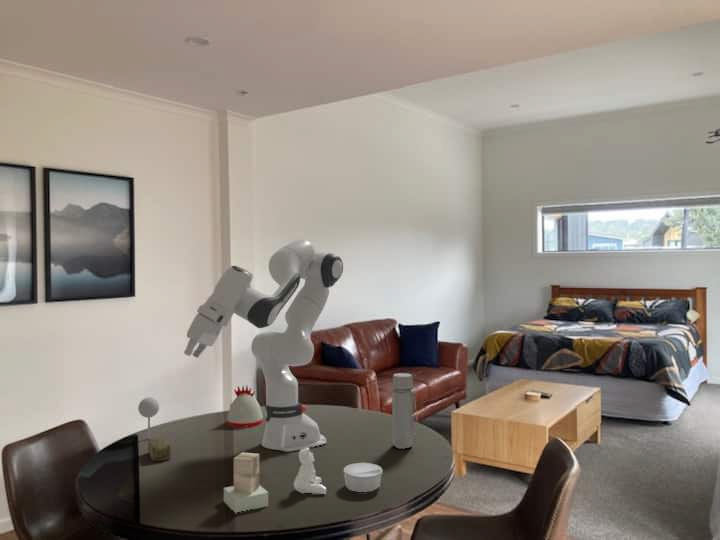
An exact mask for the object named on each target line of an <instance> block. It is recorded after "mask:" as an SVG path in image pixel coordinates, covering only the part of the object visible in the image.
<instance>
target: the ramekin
mask: <svg viewBox="0 0 720 540" xmlns="http://www.w3.org/2000/svg"><path fill="white" fill-rule="evenodd" d="M382 475H383V468H382V467H381V466H380V465H378V464H375V463H371V462H370V463H369V462H356V463H351V464H348V465H345V467H344V468H343V476H344V481H345V486H346V488H347V490H349V491H350V490H352V491H357V492H367V491H373V490H375V489H377V488H378V487H379V488H380V486H381V480H382ZM379 488H378V489H379ZM378 489H377V490H378ZM352 491H351V492H352Z"/></svg>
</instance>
